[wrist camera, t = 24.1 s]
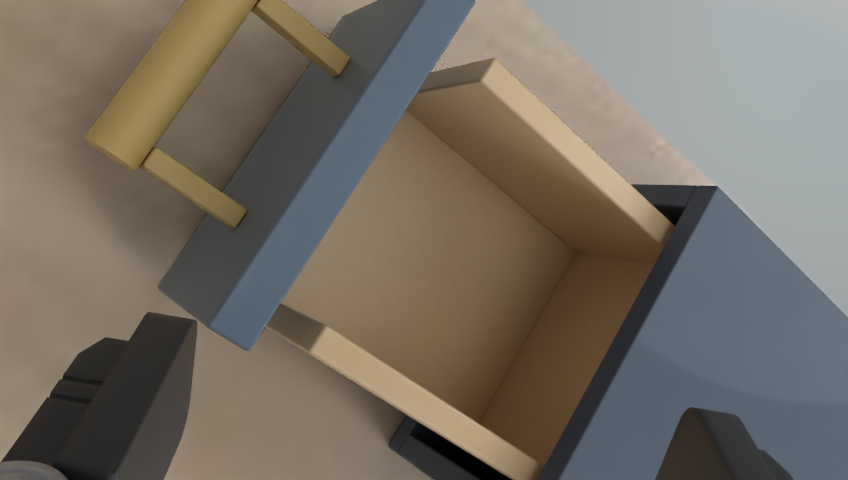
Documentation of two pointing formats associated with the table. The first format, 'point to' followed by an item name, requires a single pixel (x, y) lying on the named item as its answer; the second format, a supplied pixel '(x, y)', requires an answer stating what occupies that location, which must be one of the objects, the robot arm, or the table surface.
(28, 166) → the table surface
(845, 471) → the cabinet
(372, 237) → the drawer
